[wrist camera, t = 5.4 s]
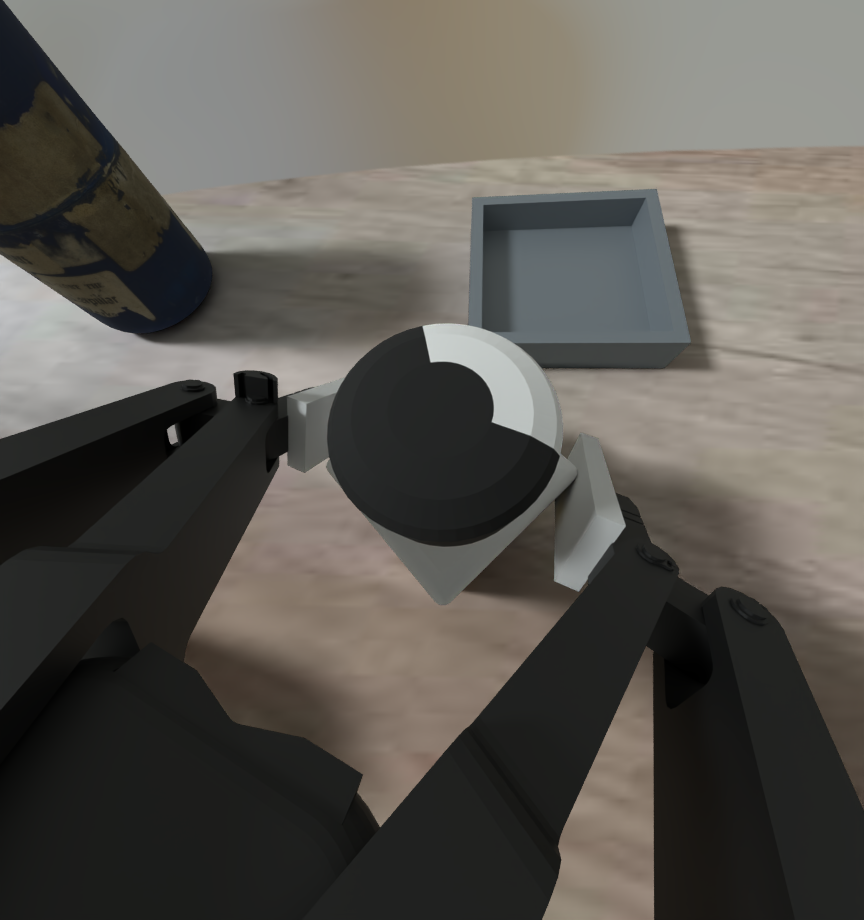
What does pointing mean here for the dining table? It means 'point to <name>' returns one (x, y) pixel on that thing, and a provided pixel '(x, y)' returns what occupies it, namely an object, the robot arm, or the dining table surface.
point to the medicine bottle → (448, 448)
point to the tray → (577, 278)
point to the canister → (85, 202)
